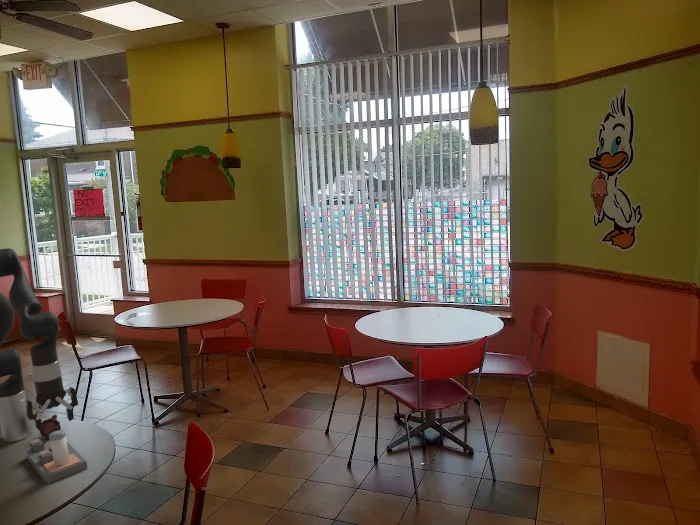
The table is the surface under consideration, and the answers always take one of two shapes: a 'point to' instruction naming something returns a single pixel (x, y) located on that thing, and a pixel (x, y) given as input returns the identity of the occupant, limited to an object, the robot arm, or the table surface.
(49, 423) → the icecream
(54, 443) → the cartridge
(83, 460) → the housing
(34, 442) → the button back
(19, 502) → the table surface
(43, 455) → the button front
